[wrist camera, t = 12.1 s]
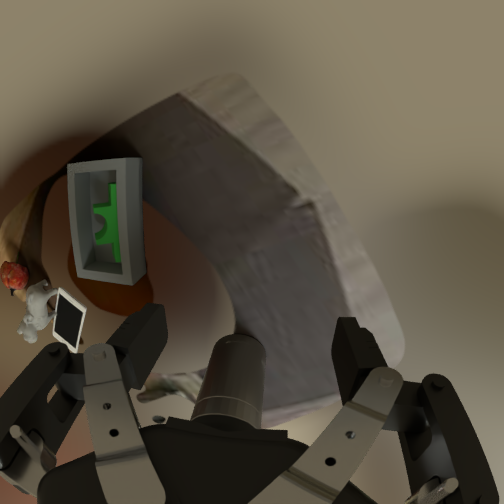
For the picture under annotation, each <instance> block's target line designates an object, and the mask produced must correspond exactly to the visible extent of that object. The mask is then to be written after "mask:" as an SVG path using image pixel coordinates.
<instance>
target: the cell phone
mask: <svg viewBox="0 0 504 504" xmlns="http://www.w3.org/2000/svg"><path fill="white" fill-rule="evenodd" d="M86 310H87V308H86V306H85V305H83V304H82V303H81V302H79V301H78V300H77V299H76V298H75V297H73V296H72V295H71V294H69V293H68V292H67V291H66V290H65V289H64V288H62V287H59V290H58V295H57V302H56V309H55V312H56V313H57V316H54V325H53V336H54V337H55V338H57V339H58V340H59V341H60V342H62V343H65V344H66V345H67V346H68V349H70V350H71V351H72V352H73V353H77V351H78V346H79V339H80V336H81V331H82V326H83V323H84V318H85V314H86Z"/></svg>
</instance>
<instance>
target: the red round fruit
mask: <svg viewBox="0 0 504 504" xmlns="http://www.w3.org/2000/svg"><path fill="white" fill-rule="evenodd" d="M18 256H19V252H18ZM18 256H17V262H16V263H14V262H7V261H4V263H3V264H2V266H1V271H0V275H1V279H2V282H3V283H4V285H5V286H6V287H7V288H9V289H10V290H11V295H12V296H14V295H13V292H14V291H15V290H21V289H23V288H24V287H25V286H26V284H27V282H28V279H29V273H28V269H27V267H24V266H22V265H20V264H17V263H18Z"/></svg>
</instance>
